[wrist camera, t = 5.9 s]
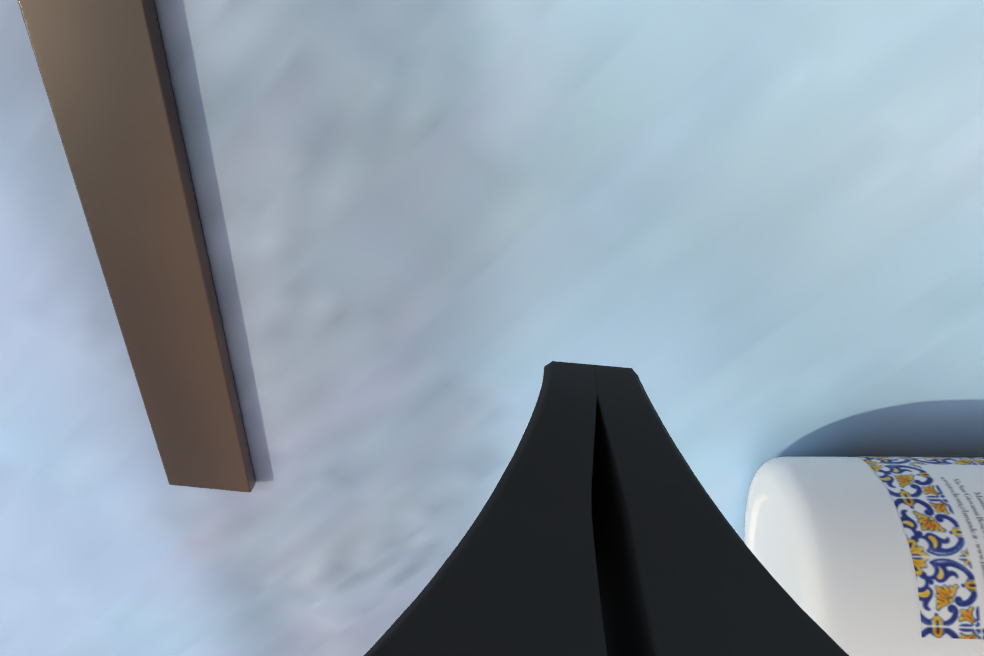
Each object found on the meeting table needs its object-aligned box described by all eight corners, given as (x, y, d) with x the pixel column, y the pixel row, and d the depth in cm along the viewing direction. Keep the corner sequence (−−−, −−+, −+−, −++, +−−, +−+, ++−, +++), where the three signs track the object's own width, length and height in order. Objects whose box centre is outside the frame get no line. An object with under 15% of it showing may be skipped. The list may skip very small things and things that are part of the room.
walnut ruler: (44, -522, 12) (25, -535, 11) (256, 482, 25) (250, 493, 25) (-129, -528, 12) (-154, -541, 11) (175, 475, 25) (168, 485, 25)
